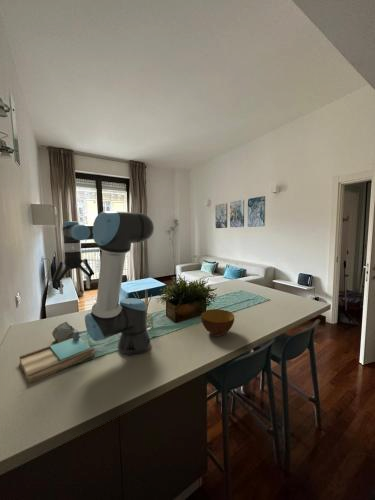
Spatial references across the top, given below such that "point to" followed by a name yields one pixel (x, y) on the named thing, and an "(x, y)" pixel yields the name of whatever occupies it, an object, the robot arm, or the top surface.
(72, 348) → the lid
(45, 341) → the top surface
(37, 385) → the top surface
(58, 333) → the stone
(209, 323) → the bowl
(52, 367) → the wooden box
